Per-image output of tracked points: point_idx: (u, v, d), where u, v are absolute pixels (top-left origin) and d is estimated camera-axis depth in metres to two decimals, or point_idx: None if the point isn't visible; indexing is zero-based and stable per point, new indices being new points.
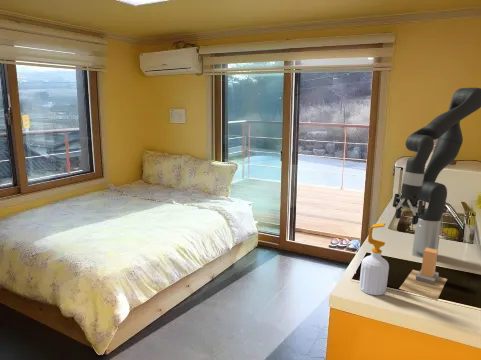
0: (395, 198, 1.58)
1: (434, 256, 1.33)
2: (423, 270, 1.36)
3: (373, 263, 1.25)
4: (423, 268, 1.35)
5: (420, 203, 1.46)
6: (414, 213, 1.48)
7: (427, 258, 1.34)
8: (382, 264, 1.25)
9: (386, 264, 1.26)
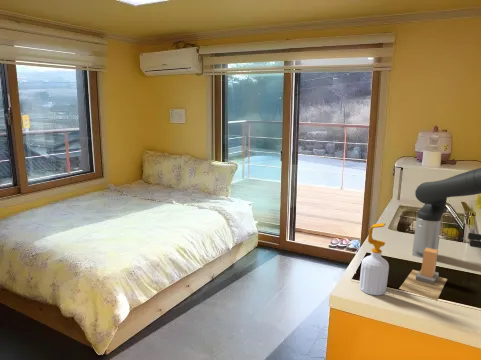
0: None
1: (434, 256, 1.33)
2: (423, 270, 1.36)
3: (373, 263, 1.25)
4: (423, 268, 1.35)
5: None
6: None
7: (427, 258, 1.34)
8: (382, 264, 1.25)
9: (386, 264, 1.26)
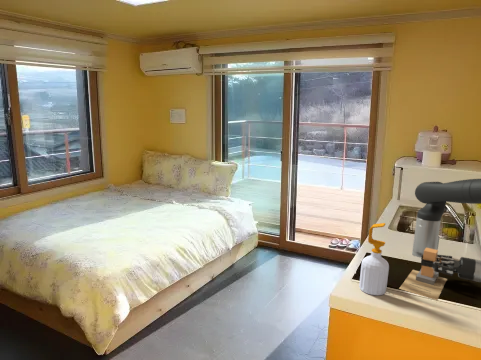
0: None
1: (434, 256, 1.33)
2: (423, 270, 1.36)
3: (373, 263, 1.25)
4: (423, 268, 1.35)
5: None
6: None
7: (427, 258, 1.34)
8: (382, 264, 1.25)
9: (386, 264, 1.26)
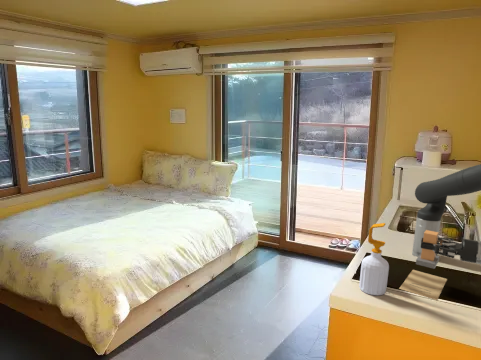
0: None
1: (435, 238, 1.27)
2: (423, 254, 1.30)
3: (373, 263, 1.25)
4: (423, 251, 1.29)
5: None
6: None
7: (427, 240, 1.28)
8: (382, 264, 1.25)
9: (386, 264, 1.26)
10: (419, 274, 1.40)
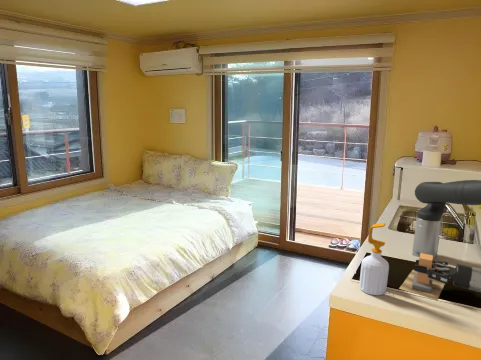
0: None
1: (430, 263, 1.26)
2: (418, 278, 1.29)
3: (373, 263, 1.25)
4: (419, 275, 1.29)
5: None
6: None
7: (423, 265, 1.27)
8: (382, 264, 1.25)
9: (386, 264, 1.26)
10: None
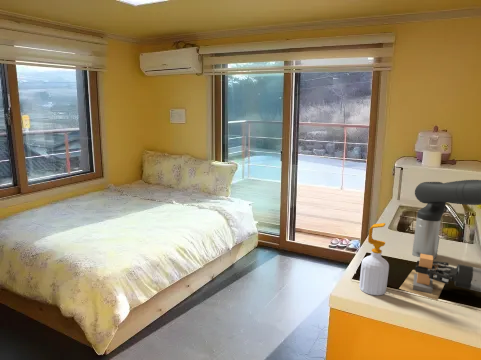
0: None
1: (431, 263, 1.26)
2: (419, 278, 1.29)
3: (373, 263, 1.25)
4: (419, 276, 1.29)
5: None
6: None
7: (423, 265, 1.27)
8: (382, 264, 1.25)
9: (386, 264, 1.26)
10: None
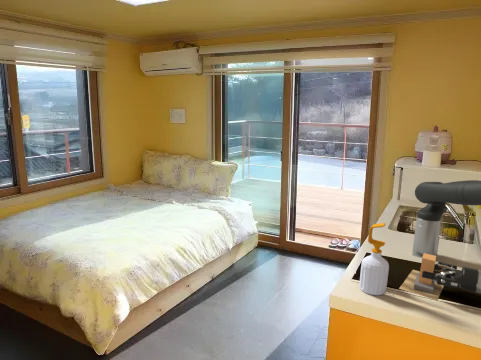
0: None
1: (433, 264, 1.25)
2: (421, 278, 1.29)
3: (373, 263, 1.25)
4: (421, 275, 1.29)
5: None
6: None
7: (425, 265, 1.27)
8: (382, 264, 1.25)
9: (386, 264, 1.26)
10: None
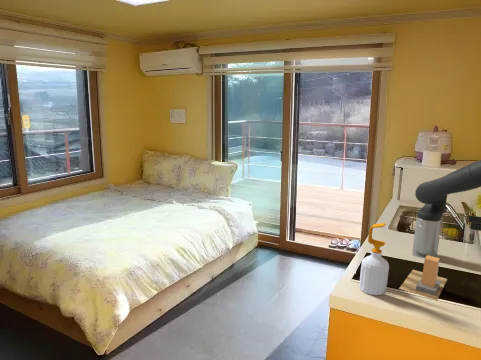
0: None
1: (435, 265, 1.25)
2: (423, 280, 1.28)
3: (373, 263, 1.25)
4: (424, 277, 1.28)
5: None
6: None
7: (428, 266, 1.27)
8: (382, 264, 1.25)
9: (386, 264, 1.26)
10: (419, 274, 1.40)
